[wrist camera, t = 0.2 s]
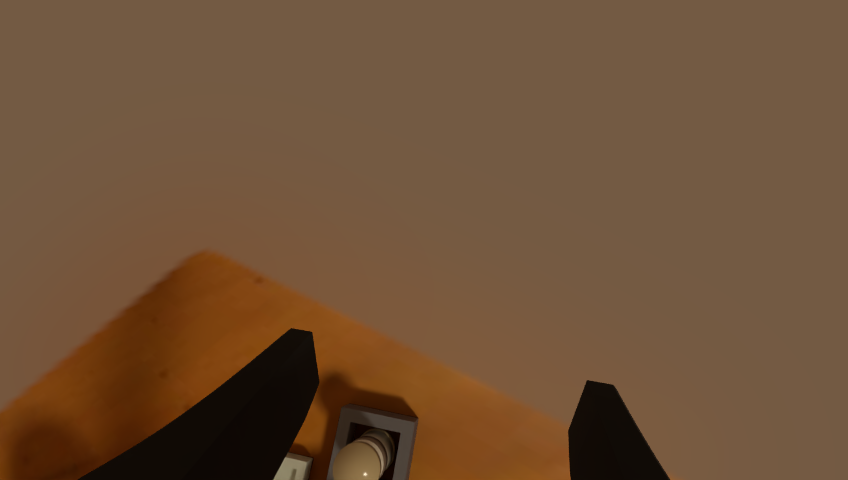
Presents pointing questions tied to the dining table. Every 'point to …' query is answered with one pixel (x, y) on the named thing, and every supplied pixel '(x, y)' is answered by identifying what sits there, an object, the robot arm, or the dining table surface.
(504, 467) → the dining table surface
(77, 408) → the dining table surface
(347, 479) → the fuse
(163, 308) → the dining table surface
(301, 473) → the parts tray
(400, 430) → the block
